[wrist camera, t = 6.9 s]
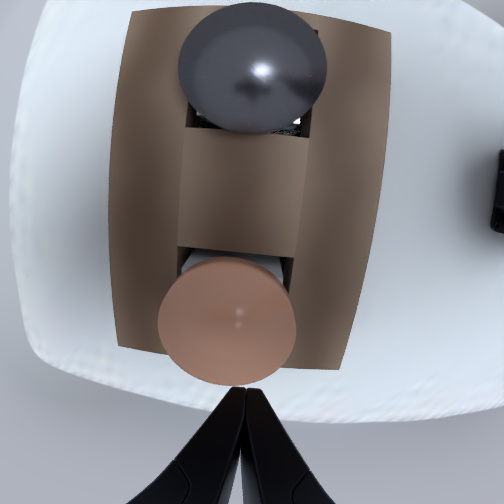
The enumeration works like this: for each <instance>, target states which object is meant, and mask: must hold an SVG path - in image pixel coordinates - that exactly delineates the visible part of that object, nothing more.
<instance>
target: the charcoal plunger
mask: <svg viewBox="0 0 504 504" xmlns="http://www.w3.org/2000/svg"><path fill="white" fill-rule="evenodd" d="M326 76H327V58H326V53H325V50H324V47H323V45H322V42H321V40H320V38H319V37H318V35H317V34H316V32H315V31H314V30H313V29H312V27H311V26H310V25H309V24H308V23H307V22H305V21H304V20H303V19H302V18H301V17H299V16H298V15H296V14H295V13H293V12H291V11H289V10H287V9H284V8H282V7H279V6H276V5H272V4H267V3H258V2H248V3H239V4H234V5H230V6H227V7H224V8H221V9H219V10H217V11H215V12H213V13H211V14H210V15H208V16H206V17H205V18H204V19H202V20H201V21H200V22H199V23H198V24H197V25H196V26H195V27H194V28H193V29H192V30H191V32H190V33H189V34H188V36H187V37H186V39H185V41H184V43H183V45H182V48H181V50H180V54H179V59H178V77H179V81H180V85H181V88H182V90H183V93H184V95H185V96H186V98H187V100H188V101H189V102H190V104H191V105H192V106H193V107H194V108H195V109H196V110H197V116H199V117H200V118H202V119H203V120H205V121H206V122H207V123H209V124H215V125H217V126H218V127H220V128H223V129H225V130H228V131H231V132H235V133H239V134H247V135H258V134H266V133H271V132H275V131H278V130H288V131H292V130H293V129H294V128H295V127H296V126H297V125H299V124H300V117H302V116H303V115H304V114H305V113H306V112H307V111H308V110H309V109H310V108H311V107H312V106H313V104H314V103H315V102H316V100H317V99H318V97H319V96H320V94H321V92H322V90H323V88H324V84H325V81H326Z"/></svg>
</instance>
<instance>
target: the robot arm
mask: <svg viewBox="0 0 504 504" xmlns="http://www.w3.org/2000/svg"><path fill="white" fill-rule="evenodd" d="M496 223H497V225H496ZM491 229H492V230H493V231H496V232H499V233H504V149H502V150H501V153H500V163H499V173H498V181H497V189H496V196H495V202H494V208H493V214H492V219H491ZM240 450H241V455H240ZM240 456H241V474H242V489H243V503H244V504H335V503H334V501H333V500H332V499H331V498H330V497H329V496H328V494H327V493H326V492H325V491H324V489H323V488H322V486H321V485H320V484H319V482H318V481H317V479H316V478H315V476H314V474H313V473H312V472H311V471H309V470H310V469H309V467H308V465H307V464H306V462H305V461H304V459H303V458H302V456H301V454H300V453H299V451H298V450H297V448H296V446H295V445H294V443H293V442H292V440H291V439H290V437H289V435H288V434H287V432H286V430H285V429H284V427H283V425H282V424H281V422H280V420H279V419H278V417H277V415H276V414H275V412H274V410H273V409H272V407H271V405H270V403H269V402H268V400H267V398H266V397H265V395H264V393H263V391H262V390H261V389H258V388H247V390H246V388H244V387H235V386H233V387H231V388H230V390H229V391H228V392H227V394H226V395H225V396H224V397H223V399H222V400H221V401H220V403H219V404H218V405H217V406H216V408H215V409H214V410H213V412H212V413H211V414H210V415H209V417H208V418H207V419H206V421H205V422H204V423H203V424H202V425H201V427H200V428H199V429H198V430H197V432H196V433H195V434H194V435H193V436H192V438H191V439H190V440H189V441H188V443H187V444H186V445H185V446H184V447H183V449H182V450H181V451H180V452H179V453H178V455H177V456H176V457H175V459H174V460H172V461H171V463H170V464H169V465H168V466H167V467H166V468H165V470H164V471H163V472H162V473H161V474H160V475H159V476H158V477H157V478H156V479H155V480H154V481H153V482H152V483H151V484H150V485H148V486H147V487H146V488H145V489H144V490H143V491H142V492H140V493H139V494H138V495H137V496H135V497H134V498H133V499H132V500H130V501H129V502H128V503H126V504H228V502H229V498H230V494H231V490H232V486H233V482H234V478H235V474H236V470H237V466H238V462H239V457H240Z"/></svg>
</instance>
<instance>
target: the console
mask: <svg viewBox="0 0 504 504" xmlns="http://www.w3.org/2000/svg"><path fill="white" fill-rule="evenodd" d="M224 7H227V6H183V7H168V8H157V9H148V10H140V11H133V12H132V14H131V18H130V22H129V26H128V31H127V35H126V40H125V45H124V50H123V55H122V61H121V66H120V72H119V78H118V85H117V92H116V100H115V108H114V116H113V126H112V137H111V151H110V168H109V201H108V222H109V256H110V274H111V287H112V299H113V309H114V318H115V326H116V334H117V341H118V346H122V347H127V348H132V349H137V350H142V351H148V352H153V353H159V354H165V355H168V354H167V352H166V350H165V348H164V347H163V344H162V342H161V339H160V336H159V332H158V314H159V309H160V306H161V304H162V301H163V299H164V298H165V296H166V294H167V293H168V291H169V290H170V288H171V286H172V285H173V283H174V282H175V281H176V279H177V278H178V277H179V276H180V275H181V274H182V267H183V265H184V264H185V262H186V261H187V259H188V258H189V256H190V251H191V247H192V248H202V249H212V250H222V251H232V252H242V253H252V254H262V255H272V256H282V257H286V259H285V266H284V273H283V286H284V287H285V289H286V291H287V292H288V294H289V297H290V300H291V303H292V307H293V312H294V317H295V322H296V340H295V344H294V347H293V349H292V352H291V354H290V355H289V357H288V359H287V360H286V361H285V363H284V364H283V365H282V366H281V367H280V368H297V369H325V370H339V368H340V365H341V362H342V359H343V356H344V352H345V349H346V346H347V342H348V339H349V335H350V332H351V328H352V324H353V321H354V317H355V313H356V309H357V305H358V302H359V297H360V293H361V289H362V285H363V281H364V276H365V272H366V267H367V263H368V258H369V253H370V248H371V243H372V238H373V233H374V227H375V222H376V216H377V210H378V204H379V197H380V191H381V184H382V176H383V168H384V160H385V151H386V142H387V131H388V119H389V105H390V85H391V33H390V32H386V31H383V30H380V29H376V28H373V27H369V26H366V25H362V24H358V23H354V22H350V21H346V20H341V19H337V18H332V17H327V16H322V15H316V14H310V13H304V12H297V11H291V12H293V13H295V14H296V15H298V16H299V17H301V18H302V19H303V20H304V21H305V22H307V23H308V24H309V25H310V26H311V27H312V29H313V30H314V31H315V32H316V34H317V35H318V37H319V38H320V40H321V42H322V45H323V47H324V50H325V53H326V58H327V76H326V81H325V84H324V88H323V90H322V92H321V94H320V96H319V97H318V99H317V100H316V102H315V103H314V104H313V106H312V107H311V108H310V109H309V110H308V111H307V112H306V113H305V114H304V115H303V116H302V126H301V136H300V137H295V136H287V135H279V134H270V133H266V134H258V135H247V134H239V133H235V132H231V131H228V130H225V129H209V128H199V125H200V117H199V116H197V110H196V109H195V108H194V107H193V106H192V105H191V104H190V102H189V101H188V100H187V98H186V96H185V95H184V93H183V90H182V88H181V85H180V81H179V77H178V59H179V54H180V50H181V48H182V45H183V43H184V41H185V39H186V37H187V36H188V34H189V33H190V32H191V30H192V29H193V28H194V27H195V26H196V25H197V24H198V23H199V22H200V21H201V20H202V19H204V18H205V17H206V16H208V15H210V14H211V13H213V12H215V11H217V10H219V9H221V8H224ZM289 11H290V10H289Z"/></svg>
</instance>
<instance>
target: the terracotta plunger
mask: <svg viewBox="0 0 504 504" xmlns="http://www.w3.org/2000/svg"><path fill="white" fill-rule="evenodd" d="M158 332H159V336H160V339H161V342H162V344H163V347H164V348H165V350H166V352H167V354H168V355H169V356H170V357H171V359H172V360H173V361H174V362H175V363H176V364H177V365H178V366H179V367H180V368H182V369H183V370H184V371H185V372H187V373H189V374H190V375H192V376H194V377H196V378H198V379H200V380H203V381H205V382H209V383H213V384H218V385H226V386H237V385H245V384H250V383H254V382H257V381H259V380H262V379H264V378H266V377H268V376H270V375H271V374H272V373H274V372H275V371H277V370H278V369H279V368H280V367H281V366H282V365H283V364H284V363H285V361H286V360H287V359H288V357H289V355H290V354H291V352H292V349H293V347H294V344H295V340H296V322H295V317H294V312H293V307H292V303H291V300H290V297H289V294H288V292H287V291H286V289H285V287H284V286H283V275H282V269H281V264H280V259H279V256H272V255H262V254H252V253H242V252H232V251H222V250H212V249H202V248H195V249H194V251H193V252H192V253H191V255H190V256H189V258H188V259H187V261H186V262H185V264H184V265H183V267H182V274H181V275H180V276H179V277H178V278H177V279H176V281H175V282H174V283H173V285H172V286H171V288H170V290H169V291H168V293H167V294H166V296H165V298H164V299H163V301H162V304H161V306H160V309H159V314H158Z"/></svg>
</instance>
